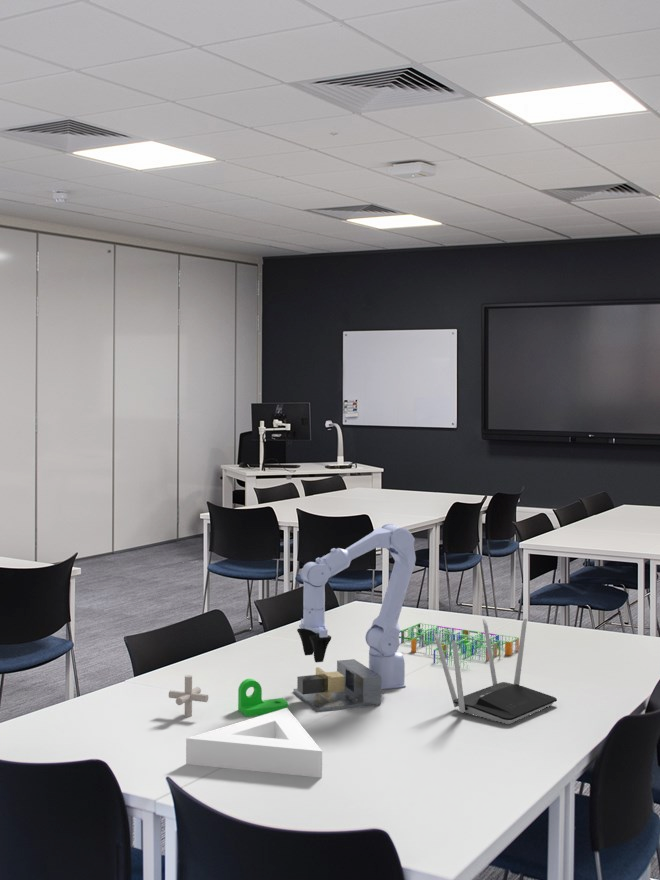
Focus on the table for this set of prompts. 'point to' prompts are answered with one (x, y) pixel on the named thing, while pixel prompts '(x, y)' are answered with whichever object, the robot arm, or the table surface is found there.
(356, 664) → the block
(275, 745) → the triangle block
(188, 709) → the pipe connector
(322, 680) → the grey and tan block
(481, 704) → the wireless router
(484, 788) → the table surface
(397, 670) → the robot arm
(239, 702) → the mechanical part
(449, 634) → the piping system model
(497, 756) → the table surface
